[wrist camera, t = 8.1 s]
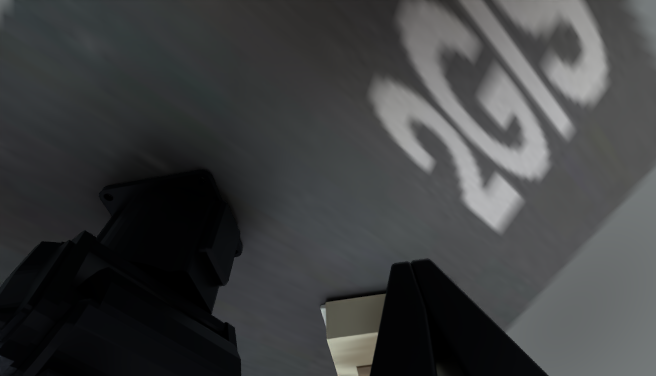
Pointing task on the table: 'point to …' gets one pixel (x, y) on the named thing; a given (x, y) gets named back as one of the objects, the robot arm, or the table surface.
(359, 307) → the birch domino
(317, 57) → the table surface
